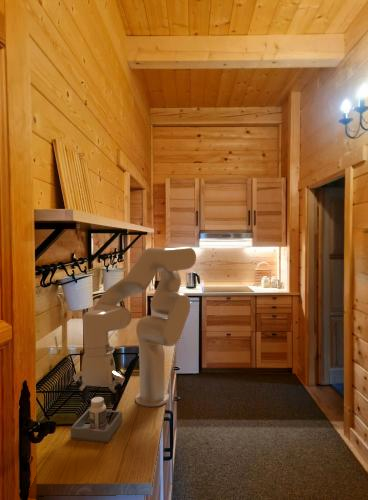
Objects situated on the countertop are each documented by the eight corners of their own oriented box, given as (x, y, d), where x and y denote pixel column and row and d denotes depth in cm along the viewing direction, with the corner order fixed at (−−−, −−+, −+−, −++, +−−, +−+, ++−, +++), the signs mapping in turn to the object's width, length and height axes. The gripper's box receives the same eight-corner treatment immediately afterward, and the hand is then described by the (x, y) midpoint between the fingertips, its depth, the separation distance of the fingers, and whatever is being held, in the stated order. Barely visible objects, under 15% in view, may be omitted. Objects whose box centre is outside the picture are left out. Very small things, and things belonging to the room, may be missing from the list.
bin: (88, 418, 116) (88, 408, 116) (122, 421, 114) (122, 411, 114) (70, 439, 105) (70, 427, 105) (107, 443, 102) (107, 431, 102)
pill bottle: (107, 421, 113) (107, 395, 113) (105, 430, 108) (104, 403, 108) (91, 422, 113) (90, 396, 112) (88, 431, 107) (87, 403, 107)
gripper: (127, 346, 111) (129, 397, 112) (77, 344, 114) (80, 394, 115) (118, 355, 103) (121, 409, 105) (65, 353, 106) (69, 406, 108)
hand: (100, 401), depth 110 cm, fingers open, 9 cm apart
